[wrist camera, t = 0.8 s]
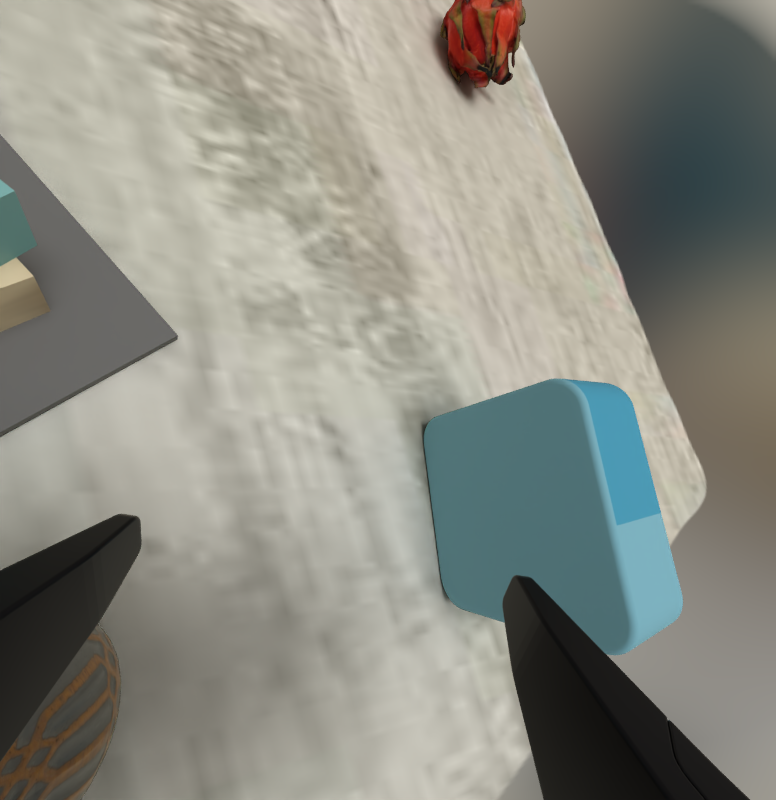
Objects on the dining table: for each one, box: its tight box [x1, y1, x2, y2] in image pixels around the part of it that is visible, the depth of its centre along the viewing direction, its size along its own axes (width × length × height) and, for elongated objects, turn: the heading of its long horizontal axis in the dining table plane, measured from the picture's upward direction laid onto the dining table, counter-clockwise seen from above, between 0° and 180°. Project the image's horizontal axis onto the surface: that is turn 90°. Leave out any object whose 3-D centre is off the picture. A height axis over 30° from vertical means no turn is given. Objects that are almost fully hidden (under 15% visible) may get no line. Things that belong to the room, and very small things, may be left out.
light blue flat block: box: [424, 379, 683, 655], centre depth 22 cm, size 12×4×12 cm, turn 7°
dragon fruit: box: [440, 0, 526, 88], centre depth 39 cm, size 8×8×12 cm
